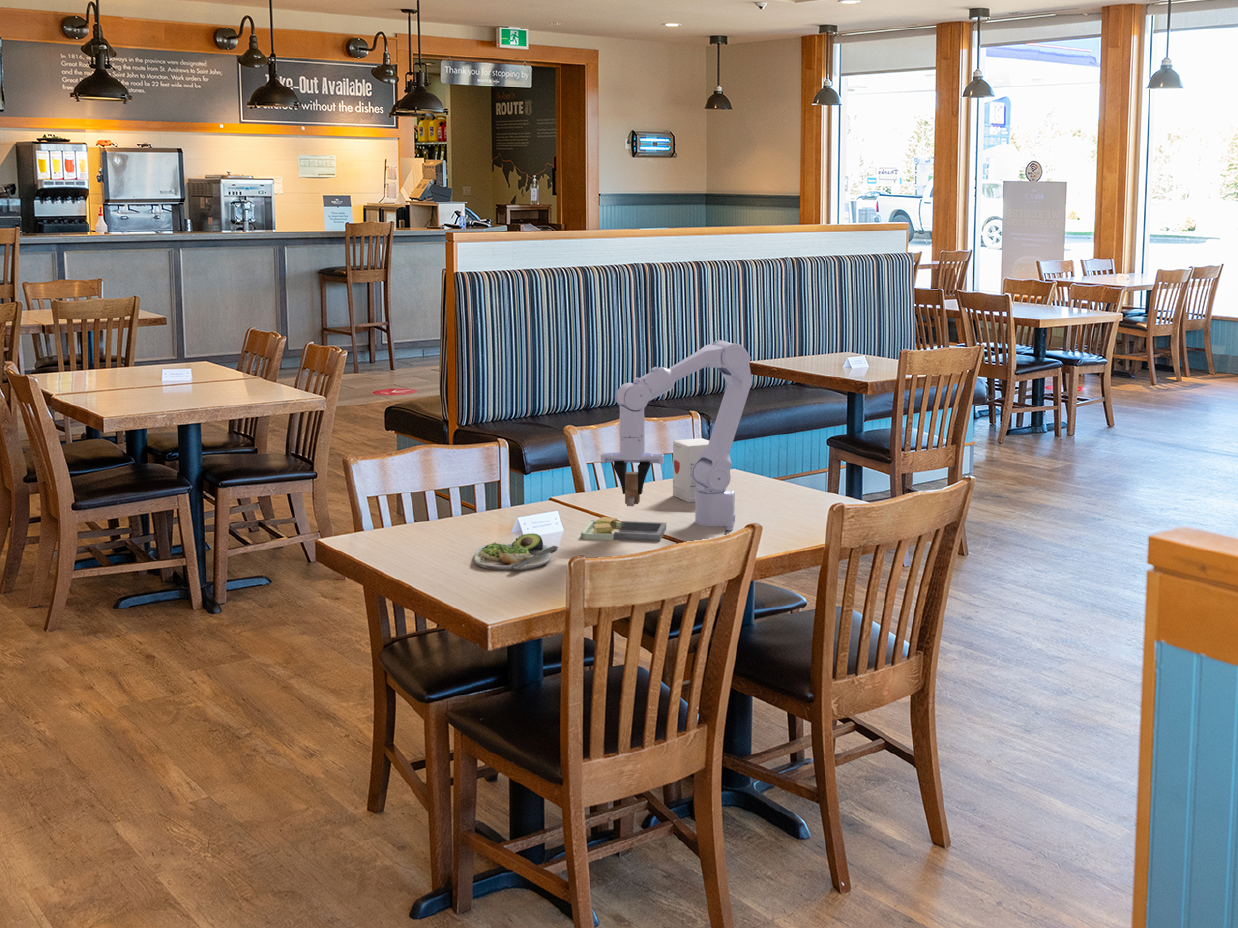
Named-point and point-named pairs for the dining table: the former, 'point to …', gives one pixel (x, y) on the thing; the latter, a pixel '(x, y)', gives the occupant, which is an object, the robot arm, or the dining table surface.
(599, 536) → the tray
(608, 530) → the chip
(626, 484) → the brown block with peg
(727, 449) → the robot arm
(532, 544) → the salad plate
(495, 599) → the dining table surface
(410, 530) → the dining table surface
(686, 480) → the supplement box
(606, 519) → the brushed gold cube
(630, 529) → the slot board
